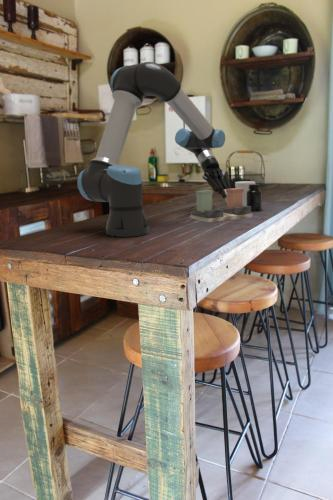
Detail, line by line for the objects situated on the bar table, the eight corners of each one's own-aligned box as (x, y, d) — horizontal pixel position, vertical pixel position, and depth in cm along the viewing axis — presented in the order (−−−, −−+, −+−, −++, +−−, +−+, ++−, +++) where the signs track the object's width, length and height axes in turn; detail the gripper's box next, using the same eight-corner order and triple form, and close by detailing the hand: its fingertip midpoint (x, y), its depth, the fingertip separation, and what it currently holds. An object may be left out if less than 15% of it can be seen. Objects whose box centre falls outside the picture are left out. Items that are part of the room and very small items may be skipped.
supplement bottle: (260, 209, 202) (261, 183, 200) (262, 211, 196) (262, 184, 193) (245, 209, 203) (246, 183, 200) (247, 211, 196) (247, 185, 194)
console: (208, 222, 170) (208, 211, 169) (190, 218, 183) (189, 207, 182) (252, 217, 180) (252, 206, 179) (232, 213, 193) (232, 203, 191)
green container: (201, 215, 176) (201, 191, 174) (195, 214, 180) (195, 190, 178) (213, 214, 179) (213, 190, 177) (207, 213, 183) (206, 189, 181)
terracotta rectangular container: (232, 213, 181) (232, 189, 179) (226, 211, 185) (226, 188, 183) (243, 211, 183) (243, 188, 181) (236, 210, 187) (236, 188, 185)
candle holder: (231, 206, 216) (231, 182, 213) (249, 205, 219) (249, 181, 216) (240, 208, 207) (240, 183, 204) (258, 207, 210) (259, 182, 207)
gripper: (216, 167, 203) (238, 206, 192) (193, 169, 197) (214, 209, 186) (223, 156, 197) (246, 195, 186) (199, 157, 191) (221, 198, 180)
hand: (230, 202), depth 186 cm, fingers closed
